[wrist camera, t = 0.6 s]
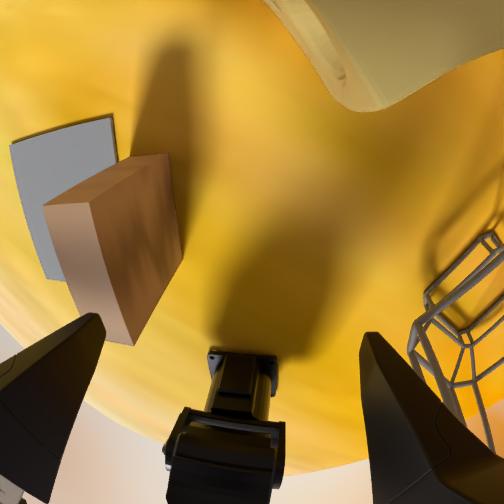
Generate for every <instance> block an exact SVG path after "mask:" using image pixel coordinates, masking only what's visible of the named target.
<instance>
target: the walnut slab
mask: <svg viewBox="0 0 504 504" xmlns="http://www.w3.org/2000/svg"><path fill="white" fill-rule="evenodd" d="M42 209H43V213H44V216H45V220H46V223H47V227H48V230H49V234H50V237H51V240H52V243H53V246H54V249H55V252H56V255H57V258H58V261H59V264H60V267H61V269H62V272H63V275H64V277H65V280H66V283H67V285H68V288H69V290H70V293H71V295H72V298H73V300H74V302H75V305H76V307H77V309H78V312H79V314H80V316H83V315H85V314H86V313H88V312H92V313H97V314H99V315H100V317H101V319H102V322H103V324H104V326H105V329H106V338H105V341H109V342H114V343H119V344H124V345H130V346H134V345H135V344H136V342H137V340H138V338H139V336H140V334H141V332H142V331H143V329H144V327H145V325H146V323H147V321H148V320H149V318H150V316H151V314H152V312H153V311H154V309H155V307H156V305H157V303H158V302H159V300H160V298H161V296H162V295H163V293H164V291H165V289H166V288H167V286H168V284H169V282H170V281H171V279H172V277H173V276H174V274H175V272H176V270H177V269H178V267H179V265H180V264H181V262H182V260H183V256H182V249H181V243H180V237H179V230H178V223H177V216H176V209H175V202H174V194H173V186H172V178H171V169H170V160H169V153H163V154H151V155H141V156H131V157H128V158H126V159H124V160H122V161H120V162H118V163H116V164H114V165H112V166H110V167H108V168H106V169H104V170H102V171H100V172H99V173H97V174H95V175H93V176H91V177H89V178H88V179H86V180H84V181H82V182H80V183H79V184H77V185H75V186H73V187H72V188H70V189H68V190H67V191H65V192H63V193H62V194H60V195H58V196H57V197H55V198H53V199H52V200H50V201H49V202H47V203H45V204H44V205H42Z"/></svg>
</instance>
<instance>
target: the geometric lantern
mask: <svg viewBox="0 0 504 504" xmlns="http://www.w3.org/2000/svg"><path fill="white" fill-rule="evenodd" d="M490 237H491V241H492V242H493V243H494V244H495V246H496V247H497V248H496V249H492V248H491V247H490V246H489V245H488V243H487V242H486V241H485V240H484V239H487V238H490ZM480 242H481V244H482V245H483V246H484V247H485V248H486V249H487V250H488V251H489V252H490V255H489V256H488V257H487V258H486V259H485V260H484V261H483V262H482V263H481V264H480V265H479V266H478V267H477V268H476V269H475V270H474V271H473V272H472V273H470V274H469V275H468V276H467V277H466V278H465V279H464V280H463V281H462V282H461V283H460V284H459V285H458V286H456V287H455V288H454V289H453V290H452V291H451V292H450V293H449V294H448V295H446V296H445V297H444V298H443V299H442V300H441V301H439V302H438V303H437V304H436V305H434V303H433V302H432V300H431V298H430V296H429V295H428V294H429V293H430V292H431V291H432V290H433V289H435V288H436V287H437V286H438V285H439V284H440V283H441V282H442V281H443V280H444V279H445V278H446V277H447V276H448V275H449V274H450V273H451V272H452V271H453V270H454V269H455V268H456V267H457V266H458V265H459V264H460V263H461V262H462V261H463V260H464V259H465V258H466V257H467V256H468V255H469V254H470V253H471V252H472V251H473V250H474V249H475V247H476V246H477V245H478V244H479V243H480ZM497 253H500V254H499V255H497V256H496V257H495V258H494V259H493V260H492V261H491V262H490V263H489V264H487V263H488V262H489V261H490V260H491V259H492V258H493V257H494V256H495V255H496V254H497ZM503 261H504V244H503V245H502V246H501V244H500V243H499V241H498V239H497V238H496V236H495V235H494V234H493V233H492V232H489V233H487V234H484V235H482V236H479V237H478V239H477V240H476V241H475V242H474V243H473V244H472V245H471V246H470V248H469V249H468V250H467V251H466V252H465V253H464V254H463V255H462V256H461V257H460V258H459V259H458V260H457V261H456V262H455V263H454V264H453V265H452V266H451V267H450V268H449V269H448V270H447V271H446V272H445V273H444V274H443V275H442V276H441V277H440V278H439V279H438V280H437V281H436V282H435V283H434V284H433V285H432V286H430V287H429V288H428V289H427V290H426V291H425V292H424V294H423V295H424V307H425V310H426V312H425V313H424V314H422V315H421V316H420V317H418V318H417V319H415V320H414V322H413V324H412V327H411V331H410V336H409V341H408V345H407V354H408V357H409V359H410V362H411V365H412V368H413V370H414V371H415V372H416V373H417V374H418V375H419V376H420V378H421V379H422V380H423V381H424V382H425V383H426V381H425V379H424V376H423V373H422V370H421V368H420V365H419V364H421V365H422V366H423V367H424V368H425V369H426V370H428V371H429V372H430V373H431V374H432V375H433V376H434V377H435V379H436V382H437V385H438V388H439V391H440V393H441V396H442V399H443V402H444V404H445V405H446V406H447V408H448V409H449V410H450V411H451V412H452V413H453V414H454V415H455V416H456V417H457V418H458V420H459V421H461V422H462V423H463V424H464V425H465V426H466V427H467V425H466V423H465V419H464V416H463V413H462V410H461V407H460V404H459V402H458V399H457V396H456V393H455V390H454V388H459V387H464V386H470V385H472V387H473V390H474V394H475V397H476V401H477V404H478V408H479V411H480V415H481V418H482V422H483V426H484V430H485V434H486V439H487V443H488V448H489V449H490V450H492V451H493V452H494V453H495V454H496V452H495V447H494V443H493V439H492V435H491V430H490V427H489V423H488V419H487V415H486V412H485V408H484V405H483V402H482V398H481V395H480V391H479V388H478V385H477V382H478V381H479V380H480V379H482V378H483V377H485V376H486V375H488V374H489V373H490V372H492V371H493V370H495V369H496V368H497V367H499V366H500V365H501V364H503V363H504V357H502V358H501V359H500V360H499V361H497V362H496V363H495V364H493V365H492V366H491V367H489V368H488V369H486V370H485V371H484V372H482V373H481V374H479V375H478V376H476V371H475V359H474V350H473V347H474V346H475V345H476V344H477V343H479V342H480V341H481V340H482V339H483V338H485V337H486V336H487V335H488V334H489V333H490V332H491V331H492V330H494V329H495V328H496V327H497V326H498V325H499V324H500V323H501V322H502V321H503V320H504V315H503V316H502V317H501V318H500V319H499V320H498V321H497V322H496V323H495V324H494V325H493V326H492V327H491V328H489V329H488V330H487V331H486V332H485V333H484V334H483V335H482V336H480V337H479V338H478V339H477V340H476V341H473V338H472V336H471V334H470V331H471V330H472V329H473V328H474V327H475V326H476V325H477V324H479V323H480V322H481V321H482V320H483V319H484V318H485V317H486V316H487V315H488V314H489V313H490V312H492V311H493V310H494V309H495V308H496V307H497V306H498V305H499V304H500V303H501V302H502V301H503V300H504V295H503V296H502V297H501V298H500V299H499V300H498V301H497V302H496V303H495V304H494V305H493V306H492V307H491V308H490V309H489V310H488V311H487V312H485V313H484V314H483V315H482V316H481V317H480V318H479V319H478V320H477V321H476V322H475V323H473V324H472V325H471V326H470V327H469V328H468V329H465V330H462V331H459V332H458V331H457V330H455V329H454V328H453V327H452V326H451V325H450V324H449V323H448V322H447V321H446V320H445V319H444V318H443V317H442V316H441V315H440V314H439V313H440V312H441V311H443V310H444V309H445V308H447V307H448V306H449V305H451V304H452V303H453V302H455V301H456V300H457V299H458V298H460V297H461V296H462V295H464V294H465V293H466V292H467V291H469V290H470V289H471V288H472V287H474V286H475V285H476V284H477V283H478V282H480V281H481V280H482V279H483V278H484V277H486V276H487V275H488V274H489V273H490V272H491V271H493V270H494V269H495V268H496V267H497V266H498V265H499V264H500V263H502V262H503ZM486 264H487V265H486ZM485 265H486V266H485ZM484 266H485V267H484ZM483 267H484V268H483ZM482 268H483V269H482ZM481 269H482V270H481ZM434 316H436V317H437V318H438V319H439V320H440V321H441V322H442V323H443V324H445V325H446V326H447V327H448V328H449V329H450V330H451V331H452V332H453V333H454V334H455V335H457V336H458V338H456V337H455V336H454V335H453V334H452V333H451V332H449V331H448V330H447V329H446V328H445V327H443V326H442V325H441V324H440V323H439V322H438V321H436V320H435V319H434V318H433V317H434ZM431 322H432V323H433V324H434V325H435V326H437V327H438V328H439V329H440V330H441V331H443V332H444V333H445V334H446V335H448V336H449V337H450V338H451V339H452V340H454V341H455V342H456V343H457V344H458V345H460V346H461V347H462V348H461V351H460V354H459V358H458V361H457V364H456V367H455V370H454V373H453V376H452V378H451V381H448V380H447V379H446V378H445V377H444V375H443V373H442V370H441V368H440V365H439V363H438V361H437V358H436V356H435V353H434V351H433V349H432V346H431V344H430V342H429V339H428V337H427V335H426V333H425V332H426V330H427V329H428V327H429V325H430V324H431ZM424 323H426V324H425V325H424V327H423V326H422V325H423V324H424ZM465 333H467V336H468V338H469V340H470V343H471V344H465V343H464V341H463V339H462V336H461V335H462V334H465ZM417 335H418V336H417ZM419 341H420V342H421V344H422V346H423V349H424V351H425V354H426V356H427V359H428V361H429V362H428V361H426V360H425V359H424V358H423V357H422V356H421V355H420V354H419V353H418V352H416V351H415V350H414V349H415V347H416V346H417V344H418V343H419ZM465 348H470V355H471V365H472V378H473V379H472V380H468V381H462V382H456V383H454V380H455V377H456V374H457V372H458V369H459V366H460V363H461V359H462V356H463V353H464V350H465Z"/></svg>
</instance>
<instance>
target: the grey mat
mask: <svg viewBox="0 0 504 504" xmlns="http://www.w3.org/2000/svg"><path fill="white" fill-rule="evenodd" d="M9 147H10V153H11V159H12V164H13V169H14V174H15V179H16V183H17V187H18V192H19V196H20V200H21V203H22V207H23V211H24V214H25V218H26V221H27V225H28V228H29V231H30V234H31V237H32V240H33V243H34V246H35V249H36V252H37V255H38V258H39V260H40V263H41V266H42V268H43V271H44V274H45V276H46V279H50V280H57V281H65V282H66V280H65V277H64V275H63V272H62V269H61V267H60V264H59V261H58V258H57V255H56V252H55V249H54V246H53V243H52V240H51V237H50V234H49V230H48V227H47V223H46V220H45V216H44V213H43V209H42V205H44V204H45V203H47V202H49V201H50V200H52V199H53V198H55V197H57V196H58V195H60V194H62V193H63V192H65V191H67V190H68V189H70V188H72V187H73V186H75V185H77V184H79V183H80V182H82V181H84V180H86V179H88V178H89V177H91V176H93V175H95V174H97V173H99V172H100V171H102V170H104V169H106V168H108V167H110V166H112V165H114V164H116V163H118V159H117V152H116V145H115V137H114V129H113V119H112V117H110V118H105V119H101V120H96V121H91V122H87V123H83V124H79V125H75V126H71V127H67V128H63V129H60V130H56V131H52V132H49V133H46V134H42V135H39V136H36V137H33V138H29V139H26V140H23V141H20V142H17V143H15V144H12V145H9Z"/></svg>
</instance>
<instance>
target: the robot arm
mask: <svg viewBox="0 0 504 504" xmlns="http://www.w3.org/2000/svg"><path fill="white" fill-rule="evenodd" d="M105 338H106V329H105V326H104V324H103V322H102V319H101V317H100V315H99V314H97V313H92V312H88V313H86V314H85V315H83V316H81V317H79V318H78V319H76V320H74V321H72V322H71V323H69V324H67V325H65V326H64V327H62V328H60V329H58V330H57V331H55V332H53V333H52V334H50V335H48V336H46V337H45V338H43V339H41V340H40V341H38V342H36V343H34V344H33V345H31V346H29V347H28V348H26V349H24V350H23V351H21V352H20V353H18V354H17V355H14V356H13V357H11V358H9V359H8V360H6V361H4V362H2V363H1V364H0V504H27V503H26V500H25V499H23V498H22V495H23V493H24V491H25V492H27V493H29V494H30V495H32V496H34V497H35V498H37V499H39V500H40V501H42V502H44V503H46V504H48V503H49V500H50V497H51V493H52V490H53V486H54V483H55V479H56V476H57V473H58V469H59V466H60V463H61V459H62V456H63V453H64V450H65V447H66V444H67V441H68V439H69V435H70V433H71V430H72V427H73V425H74V422H75V419H76V417H77V414H78V411H79V409H80V406H81V404H82V401H83V398H84V396H85V393H86V391H87V389H88V386H89V384H90V381H91V379H92V377H93V374H94V372H95V369H96V366H97V363H98V360H99V356H100V353H101V350H102V347H103V344H104V341H105ZM207 360H208V365H209V369H210V374H211V379H212V383H211V387H210V390H209V394H208V398H207V402H206V406H205V409H204V411H199V410H195V409H191V408H190V407H184V409H183V411H182V413H180V415H179V417H178V419H177V421H176V424H175V426H174V428H173V430H172V432H171V434H170V436H169V438H168V440H167V441H166V443H165V444H164V446H163V448H162V452H163V453H164V455H165V466H166V470H167V471H170V476H169V482H168V489H167V493H166V500H167V503H168V504H269V503H270V497H271V492H272V489H279V488H280V486H281V483H282V479H283V474H284V467H285V422H282V421H279V422H272V421H268V415H269V406H270V397H274V396H275V395H276V378H277V358H276V357H274V356H263V355H249V354H236V353H225V352H214V351H210V352H208V355H207ZM359 364H360V384H361V401H362V408H363V415H364V422H365V429H366V436H367V444H368V453H369V461H370V471H371V482H372V494H373V504H504V458H502V457H500V456H498V455H497V454H495V453H494V452H493V451H492V450H490V449H489V448H488V447H487V446H486V445H485V444H484V443H483V442H482V441H481V440H480V439H479V438H477V437H476V436H475V435H474V434H473V433H472V432H471V431H470V430H469V429H468V428H467V427H466V426H465V425H464V424H463V423H462V422H461V421H459V420H458V418H457V417H456V416H455V415H454V414H453V413H452V412H451V411H450V410H449V409H448V408H447V406H446V405H445V404H444V403H443V402H441V400H440V399H439V398H438V396H437V395H436V394H435V393H434V392H433V391H432V390H431V389H430V387H429V386H428V385H427V384H426V383H425V382H424V381H423V380H422V379H421V378H420V376H419V375H418V374H417V373H416V372H415V371H414V370H413V369H412V368H411V367H410V366H409V364H408V363H407V362H406V361H405V360H404V359H403V358H402V357H401V356H400V355H399V354H398V353H397V351H396V350H395V349H394V348H393V347H392V346H391V345H390V344H389V343H388V342H387V341H386V340H385V339H384V338H383V337H382V335H381V334H380V333H378V332H366V333H365V334H364V336H363V340H362V343H361V347H360V351H359Z"/></svg>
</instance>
